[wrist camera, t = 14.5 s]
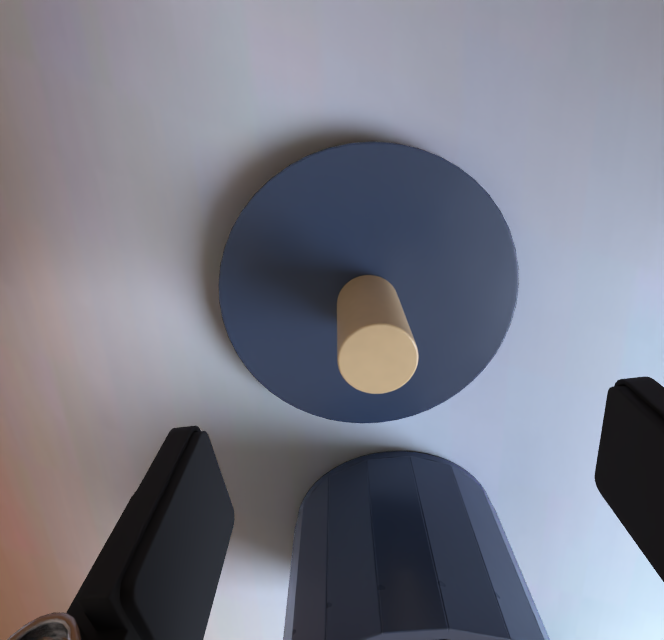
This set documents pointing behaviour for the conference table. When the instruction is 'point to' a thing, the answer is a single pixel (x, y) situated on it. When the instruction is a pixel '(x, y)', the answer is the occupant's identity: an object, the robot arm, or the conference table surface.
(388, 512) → the pot
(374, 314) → the lid
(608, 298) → the conference table surface
